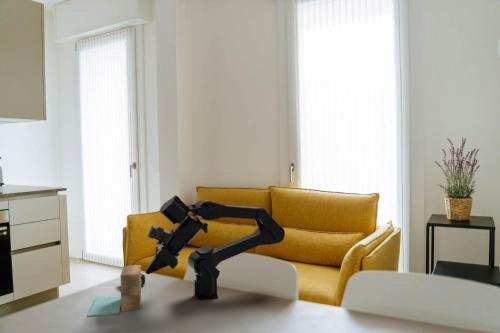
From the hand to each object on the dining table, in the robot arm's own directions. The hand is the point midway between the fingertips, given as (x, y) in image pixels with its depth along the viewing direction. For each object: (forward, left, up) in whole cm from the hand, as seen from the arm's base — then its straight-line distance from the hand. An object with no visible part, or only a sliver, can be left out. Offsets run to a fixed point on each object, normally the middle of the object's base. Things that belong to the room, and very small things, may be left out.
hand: (146, 273), depth 119 cm
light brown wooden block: (+4, 0, -9) cm, 10 cm away
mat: (+11, 0, -9) cm, 14 cm away
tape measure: (+5, -17, -9) cm, 20 cm away
